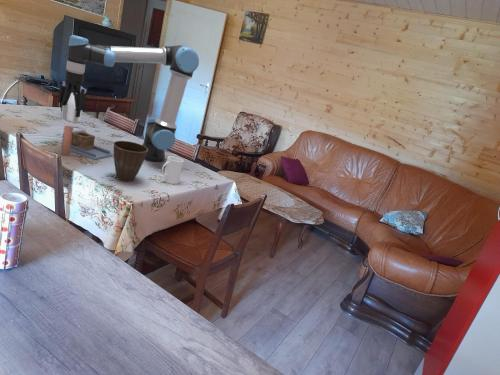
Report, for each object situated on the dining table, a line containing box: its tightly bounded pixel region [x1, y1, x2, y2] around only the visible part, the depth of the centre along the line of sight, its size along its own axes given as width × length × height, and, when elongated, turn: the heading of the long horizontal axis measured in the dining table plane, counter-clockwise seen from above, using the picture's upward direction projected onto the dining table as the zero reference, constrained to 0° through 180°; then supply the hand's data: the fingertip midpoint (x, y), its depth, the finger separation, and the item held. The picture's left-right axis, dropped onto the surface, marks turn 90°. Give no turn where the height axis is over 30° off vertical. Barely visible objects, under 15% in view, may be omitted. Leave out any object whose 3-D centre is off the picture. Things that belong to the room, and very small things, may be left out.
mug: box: [161, 155, 185, 185], centre depth 174 cm, size 12×8×12 cm
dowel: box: [61, 125, 74, 157], centre depth 169 cm, size 4×4×14 cm
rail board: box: [61, 130, 114, 161], centre depth 181 cm, size 20×14×8 cm
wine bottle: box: [65, 92, 83, 123], centre depth 226 cm, size 10×10×30 cm
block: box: [71, 132, 96, 150], centre depth 182 cm, size 8×8×7 cm
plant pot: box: [113, 140, 148, 182], centre depth 161 cm, size 15×15×16 cm
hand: (69, 120), depth 166 cm, fingers open, 6 cm apart
